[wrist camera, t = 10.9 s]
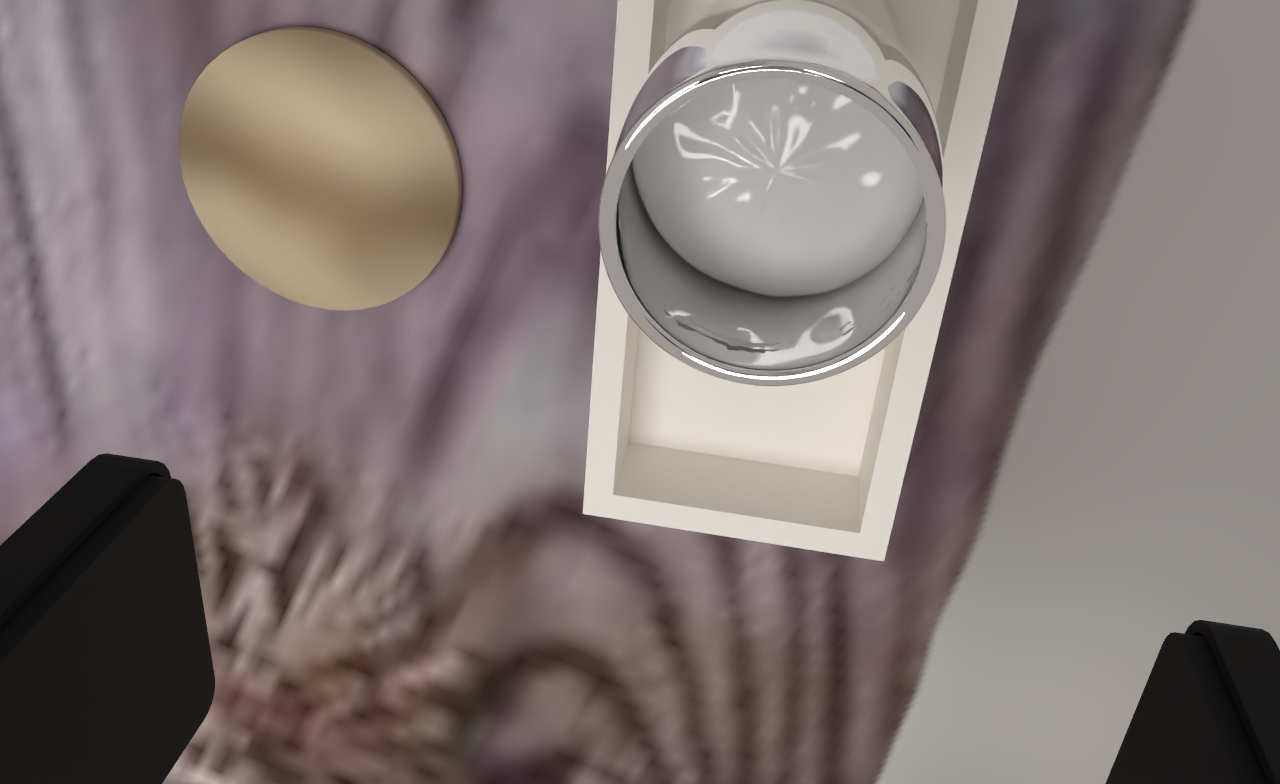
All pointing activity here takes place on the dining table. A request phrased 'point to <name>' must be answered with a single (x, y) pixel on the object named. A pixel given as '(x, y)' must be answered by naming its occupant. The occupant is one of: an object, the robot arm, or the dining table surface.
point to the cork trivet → (320, 168)
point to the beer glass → (777, 192)
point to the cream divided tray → (795, 414)
